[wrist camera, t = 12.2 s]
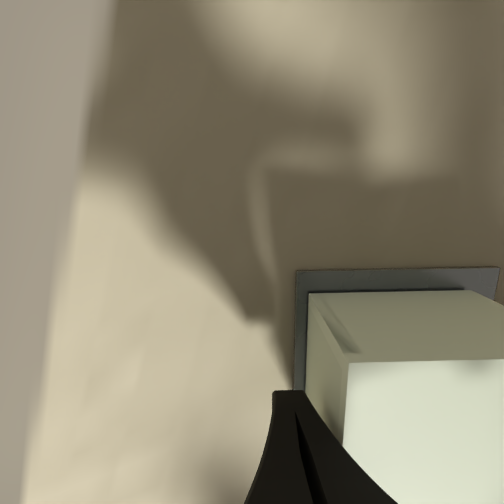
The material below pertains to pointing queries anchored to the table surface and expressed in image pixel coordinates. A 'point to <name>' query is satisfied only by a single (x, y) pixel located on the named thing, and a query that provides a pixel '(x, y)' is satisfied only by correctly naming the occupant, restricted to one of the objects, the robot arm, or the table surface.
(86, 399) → the table surface
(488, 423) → the block
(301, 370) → the seat
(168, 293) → the table surface
